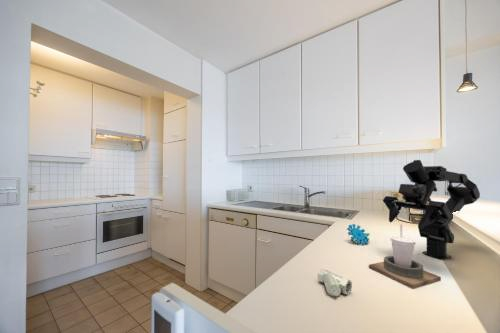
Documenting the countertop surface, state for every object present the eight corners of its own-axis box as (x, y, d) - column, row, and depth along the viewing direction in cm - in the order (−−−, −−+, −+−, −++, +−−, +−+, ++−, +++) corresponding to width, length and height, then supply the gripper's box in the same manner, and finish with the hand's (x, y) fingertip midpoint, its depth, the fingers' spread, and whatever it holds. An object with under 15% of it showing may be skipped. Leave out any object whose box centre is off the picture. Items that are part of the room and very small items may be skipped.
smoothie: (404, 265, 67) (404, 222, 67) (421, 275, 61) (421, 227, 61) (385, 265, 67) (385, 222, 67) (399, 275, 60) (399, 227, 61)
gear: (354, 242, 87) (345, 221, 94) (346, 248, 91) (338, 228, 98) (376, 244, 89) (366, 224, 96) (367, 251, 93) (358, 231, 100)
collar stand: (395, 262, 72) (395, 251, 72) (440, 280, 60) (440, 268, 60) (368, 267, 67) (368, 256, 67) (412, 288, 55) (412, 275, 55)
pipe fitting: (338, 303, 49) (352, 292, 53) (337, 287, 49) (351, 277, 53) (310, 288, 56) (325, 279, 60) (309, 274, 56) (324, 266, 60)
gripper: (385, 175, 82) (367, 204, 77) (445, 176, 65) (427, 214, 60) (397, 194, 85) (380, 224, 80) (458, 200, 68) (441, 238, 63)
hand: (403, 224), depth 71 cm, fingers open, 9 cm apart
